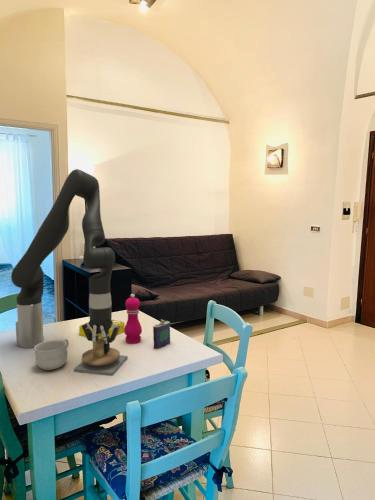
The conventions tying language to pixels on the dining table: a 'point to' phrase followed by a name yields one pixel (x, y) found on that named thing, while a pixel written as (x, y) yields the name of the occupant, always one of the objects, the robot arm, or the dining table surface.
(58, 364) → the teacup
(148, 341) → the dining table surface
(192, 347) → the dining table surface
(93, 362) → the lid
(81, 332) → the element tile
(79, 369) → the mat
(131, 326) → the pepper mill
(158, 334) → the flask
